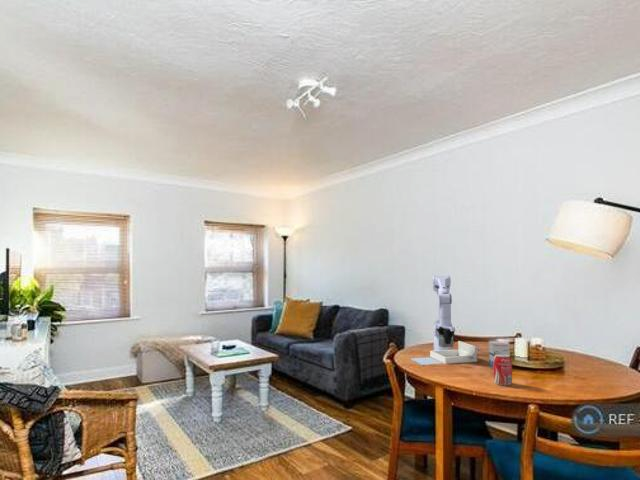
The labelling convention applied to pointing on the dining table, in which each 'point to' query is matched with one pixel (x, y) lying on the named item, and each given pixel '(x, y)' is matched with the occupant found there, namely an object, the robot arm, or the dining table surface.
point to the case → (457, 354)
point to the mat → (425, 361)
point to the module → (444, 341)
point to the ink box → (497, 349)
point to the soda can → (502, 369)
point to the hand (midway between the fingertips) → (445, 343)
